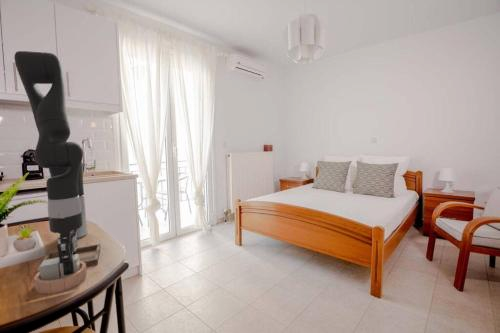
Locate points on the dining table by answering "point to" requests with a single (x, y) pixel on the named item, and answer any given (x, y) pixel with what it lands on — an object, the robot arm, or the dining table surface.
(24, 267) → the dining table surface
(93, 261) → the tray
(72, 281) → the bowl
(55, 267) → the light grey block
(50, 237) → the dining table surface
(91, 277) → the dining table surface
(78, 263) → the white rectangular block
